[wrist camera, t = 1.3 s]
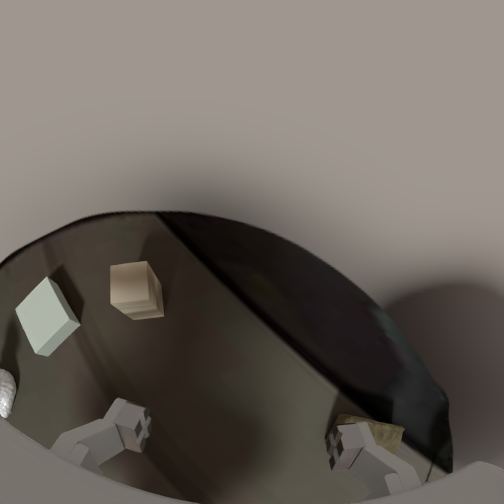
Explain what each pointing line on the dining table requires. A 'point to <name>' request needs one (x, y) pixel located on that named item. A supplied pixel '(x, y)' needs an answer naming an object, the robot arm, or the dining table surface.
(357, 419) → the stone block
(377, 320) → the dining table surface
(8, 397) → the seated beast figurine
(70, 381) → the dining table surface
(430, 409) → the dining table surface
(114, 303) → the birch block
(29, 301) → the sage block
